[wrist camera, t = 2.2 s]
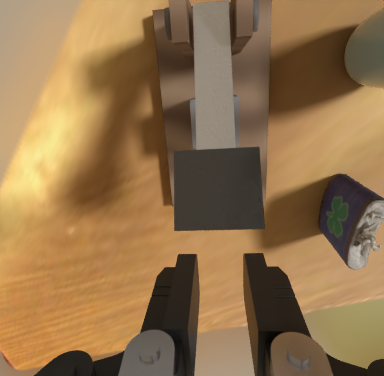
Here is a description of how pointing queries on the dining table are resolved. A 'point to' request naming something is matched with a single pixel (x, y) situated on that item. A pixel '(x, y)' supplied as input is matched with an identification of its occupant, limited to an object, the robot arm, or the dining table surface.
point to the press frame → (241, 76)
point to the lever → (216, 140)
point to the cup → (367, 52)
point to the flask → (351, 219)
